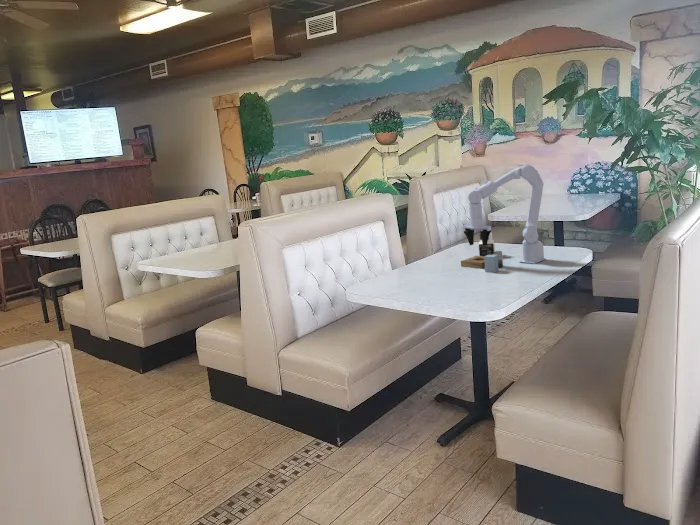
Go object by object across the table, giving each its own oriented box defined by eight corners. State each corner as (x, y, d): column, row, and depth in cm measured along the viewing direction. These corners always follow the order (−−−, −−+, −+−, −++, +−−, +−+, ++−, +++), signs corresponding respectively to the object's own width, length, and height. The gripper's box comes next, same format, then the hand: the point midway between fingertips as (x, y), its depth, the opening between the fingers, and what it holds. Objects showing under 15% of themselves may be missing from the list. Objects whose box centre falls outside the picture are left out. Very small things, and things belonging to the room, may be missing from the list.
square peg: (489, 269, 253) (487, 254, 251) (498, 270, 250) (497, 254, 249) (485, 272, 249) (484, 256, 248) (494, 272, 246) (493, 256, 245)
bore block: (476, 260, 273) (476, 255, 272) (497, 262, 263) (497, 257, 263) (461, 266, 265) (460, 261, 265) (481, 268, 256) (481, 263, 256)
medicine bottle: (479, 257, 279) (477, 234, 276) (480, 254, 285) (478, 231, 283) (494, 257, 276) (492, 233, 274) (495, 254, 283) (493, 230, 281)
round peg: (497, 265, 258) (496, 250, 257) (504, 266, 256) (503, 251, 254) (493, 267, 256) (492, 252, 255) (499, 267, 253) (498, 252, 252)
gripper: (458, 217, 262) (460, 246, 265) (483, 218, 251) (485, 247, 254) (467, 215, 266) (469, 243, 269) (493, 215, 255) (495, 244, 258)
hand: (478, 245), depth 262 cm, fingers open, 7 cm apart
